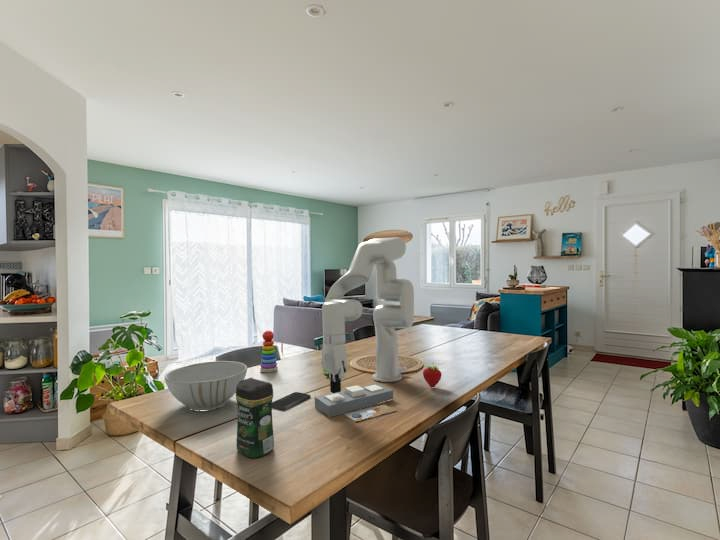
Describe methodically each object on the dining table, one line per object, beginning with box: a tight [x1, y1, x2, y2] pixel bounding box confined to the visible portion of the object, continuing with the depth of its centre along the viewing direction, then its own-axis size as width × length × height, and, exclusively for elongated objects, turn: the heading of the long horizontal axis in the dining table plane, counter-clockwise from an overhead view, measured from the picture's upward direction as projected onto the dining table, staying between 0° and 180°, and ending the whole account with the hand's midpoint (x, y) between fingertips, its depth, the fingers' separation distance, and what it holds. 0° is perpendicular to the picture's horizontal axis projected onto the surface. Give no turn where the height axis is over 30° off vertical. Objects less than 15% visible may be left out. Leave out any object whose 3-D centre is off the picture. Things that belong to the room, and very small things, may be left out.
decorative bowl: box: [164, 360, 248, 412], centre depth 130 cm, size 27×27×12 cm
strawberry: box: [422, 362, 443, 388], centre depth 145 cm, size 6×8×10 cm
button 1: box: [325, 393, 345, 402], centre depth 125 cm, size 5×5×4 cm
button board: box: [314, 382, 394, 418], centre depth 129 cm, size 26×10×4 cm, turn 123°
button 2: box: [364, 385, 383, 393], centre depth 133 cm, size 5×5×4 cm
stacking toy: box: [259, 330, 279, 374], centre depth 172 cm, size 8×8×19 cm
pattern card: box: [344, 406, 376, 421], centre depth 120 cm, size 16×7×1 cm, turn 123°
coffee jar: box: [235, 377, 275, 459], centre depth 97 cm, size 10×8×19 cm
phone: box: [272, 391, 311, 411], centre depth 132 cm, size 8×1×15 cm
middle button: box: [344, 385, 365, 397], centre depth 129 cm, size 5×5×4 cm
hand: (335, 391), depth 125 cm, fingers closed
